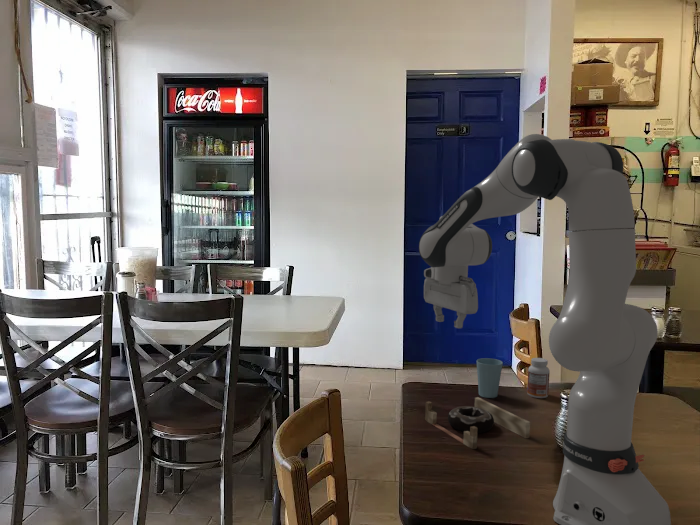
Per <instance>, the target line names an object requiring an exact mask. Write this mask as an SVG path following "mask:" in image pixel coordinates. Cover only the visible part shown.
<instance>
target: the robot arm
mask: <svg viewBox="0 0 700 525" xmlns="http://www.w3.org/2000/svg"><path fill="white" fill-rule="evenodd" d="M623 173H624V162H623V157H622V155H621V153H620V152H619V150H618V149H617V148H616V147H613V146H612V145H609V144H607V143H604V142H599V141H593V142H590V141H583V140H575V139H571V138H559V139H552V138H550V137H548V136H546V135H544V134H540V133H533V134H528V135H526V136H524V137H523V138H521V139H520V140H519V141H518V142H517V143H516V144H514V146H513V147H512V148H511V149H510V150H509V151H508V152H507V154H505V156H503V158H502V159H501V161H500V162H499V163H498V165H497V166H496V168H495V169H494V170H493V171H492V172H491V173H490V174H488V176H487V177H485V178H484V179H483V180H481V182H479V183H478V184H476V185H475V186H473V187H471V188H470V189H468V190H466V191H465V192H464V193H463V194H462V195H461V196H460V197H459V198H457V200H456V201H455V202H454V203H453V204H452V205H451V207H449V209H448V210H447V211H446V212H445V213H444V214H443V215H441V216H440V217H439V220H437V221H436V223H434V224H433V225H431V226H429V227H428V228H427V229H426V230H425V231H424V232H423V233H422V235H421V237H420V238H419V242H418V252H419V256H420V257H421V259H422V261H424V262H425V263H426V264H427V265H428V266H429V268H426V269H424V270H423V276H424V278H425V279H424V283H423V299H424V301H425V303H428V304H431V305H433V307H432V308H433V311H434V315H435V321H436V322H439V323H442V322H444V321H445V315H444V314H443V310H442V309H443V308H444V309H448V310H451V311H454V312H456V316H457V318H456V320H453V323H454V325H453V327H454V328H455V329H463V326H464V321H465V319H466V317H467V315H473V314H476V313H477V312H478V309H479V297H478V295H479V294H478V288H477V284H476V283H475V280H473V278H471V277H468V275H469V273H468V272H469V266H479V265H484V264H485V263H486V262H488V260H489V258H490V257H491V255H492V251H493V241H492V238H491V236H490V234H489V233H488V232H487V231H486V230H485V229H484V228H480V227H478V226H476V225H475V224H474V223H476V222H479V221H482V220H488V219H493V218H500V217H508V216H513V215H517V214H520V213H522V212H524V211H525V210H526V209H527V208H528V209H529V207H530V206H532V204H534V203H535V202H536V200H537V199H538V198H542V199H545V200H548V201H553V200H554V199H555V198H556V197H557V198H559V199H561V200H562V201H564V203H565V204H566V206H567V211H568V246H569V248H568V251H569V252H568V254H569V255H568V256H569V257H568V259H569V272H568V280H567V281H568V282H567V286H566V291H565V295H564V300H563V303H562V308H561V310H560V313H559V316H558V318H557V319H556V321H555V323H554V324H553V325H552V327H551V329H550V332H549V334H548V347H549V350H550V353H551V355H552V357H553V358H554V360H555V361H556V363H558V364H559V365H560V366H561V367H563V368H565V369H566V370H569V371H573V372H579V375H578V377H577V379H576V381H575V383H574V384H573V386H572V387H571V389H570V391H569V395H568V404H567V419H566V420H567V421H566V431H565V432H564V434H563V441H562V454H563V455H564V457H563V465H562V469H561V474H560V479H559V484H558V488H557V491H556V494H555V496H554V498H553V501H552V507H553V508H554V514H553V521H554V522H556V523H557V524H559V525H672V522H671V521H672V520H671V518H672V517H671V513H670V511H671V510H670V507H669V504H668V502H667V501H666V500H665V499H664V498H663V496H662V495H661V493H659V492H658V490H656V488H655V487H654V486H653V485H652V483H651V482H650V481H649V480H648V478H647V477H646V476H645V474H643V472H642V471H641V470H640V465H639V463H641V462H644V461H645V459H644V457H645V454H641V455H640V454H639V455H637V454H636V451H635V448H634V444H633V442H632V435H633V424H634V414H635V413H634V411H635V405H636V398H637V395H638V391H639V388H640V384H641V381H642V377H643V374H644V370H645V368H646V364H647V360H648V356H649V355H650V351H651V350H653V349H652V348H653V347H654V345H655V343H656V342H657V339H658V332H659V329H658V326H657V322H656V321H655V318H654V317H653V315H651V314H650V312H648V310H646V309H644V308H643V307H640V306H637V305H633V304H628V303H626V299H627V297H628V296H627V295H628V291H629V288H630V285H631V282H632V281H633V279H634V278H635V276H636V274H637V273H636V272H637V253H636V251H637V250H636V229H635V226H636V225H635V214H634V206H633V199H632V194H631V189H630V187H629V183H628V179H627V177H626V176H625V175H624V174H623Z"/></svg>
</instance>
